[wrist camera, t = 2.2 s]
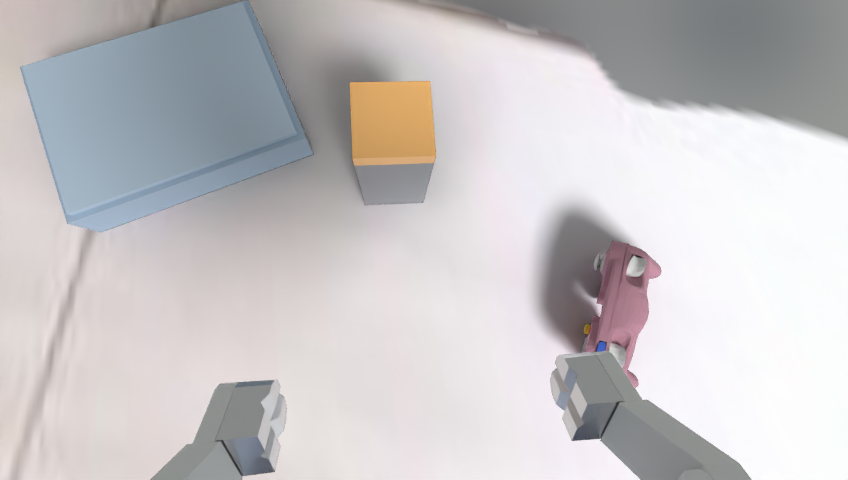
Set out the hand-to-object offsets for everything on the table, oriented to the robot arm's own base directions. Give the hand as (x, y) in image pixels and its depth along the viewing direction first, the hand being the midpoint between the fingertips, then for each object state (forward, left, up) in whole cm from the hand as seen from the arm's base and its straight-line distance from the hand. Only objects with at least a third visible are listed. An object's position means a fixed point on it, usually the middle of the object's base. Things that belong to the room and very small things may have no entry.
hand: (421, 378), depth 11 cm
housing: (+4, +12, -16) cm, 21 cm away
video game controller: (+14, -5, -17) cm, 23 cm away
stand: (-9, +22, -16) cm, 29 cm away
